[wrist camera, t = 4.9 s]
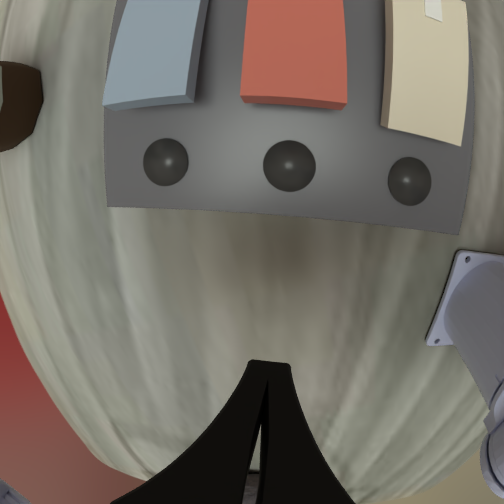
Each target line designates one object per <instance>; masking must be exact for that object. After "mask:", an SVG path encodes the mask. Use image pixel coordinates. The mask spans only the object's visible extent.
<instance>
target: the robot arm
mask: <svg viewBox="0 0 504 504" xmlns="http://www.w3.org/2000/svg"><path fill="white" fill-rule="evenodd" d="M467 256H468V258H467V259H466V260H465V258H466V257H467ZM436 339H437V340H436ZM425 342H426V344H427V345H428V346H440V345H455V347H456V349H457V350H458V352H459V354H460V355H461V357H462V359H463V361H464V362H465V364H466V366H467V368H468V369H469V371H470V373H471V375H472V377H473V378H474V380H475V382H476V384H477V386H478V388H479V390H480V392H481V394H482V396H483V398H484V400H485V402H486V404H487V406H488V408H489V410H490V412H489V413H488V415H487V416H486V418H485V419H484V423H485V425H486V428H487V430H488V433H487V434H486V436H485V437H484V439H483V442H482V445H481V449H480V465H481V470H482V474H483V477H484V479H485V481H486V483H487V485H488V486H489V488H490V489H491V490H492V491H493V492H494V493H495V494H496V495H497V496H499V497H501V498H503V499H504V255H497V254H490V253H482V252H474V251H466V250H460V251H458V252H457V254H456V256H455V259H454V263H453V266H452V269H451V273H450V276H449V279H448V282H447V285H446V288H445V291H444V294H443V297H442V299H441V302H440V305H439V308H438V310H437V313H436V315H435V318H434V320H433V323H432V325H431V328H430V330H429V333H428V335H427V337H426V340H425ZM260 426H261V445H260V472H259V484H258V490H257V497H256V503H255V504H355V503H354V501H353V500H352V499H351V498H350V496H349V495H348V494H347V492H346V491H345V489H344V488H343V487H342V485H341V484H340V482H339V481H338V480H337V478H336V477H335V475H334V474H333V472H332V470H331V469H330V467H329V466H328V464H327V462H326V461H325V459H324V457H323V455H322V453H321V452H320V450H319V448H318V446H317V444H316V442H315V440H314V438H313V435H312V433H311V431H310V429H309V426H308V424H307V422H306V419H305V416H304V414H303V411H302V408H301V406H300V403H299V400H298V397H297V393H296V390H295V386H294V382H293V378H292V373H291V366H290V365H289V364H288V363H280V362H270V361H261V360H253V359H252V360H250V361H248V364H247V367H246V369H245V372H244V374H243V376H242V378H241V380H240V382H239V383H238V385H237V387H236V389H235V390H234V392H233V393H232V395H231V397H230V398H229V400H228V401H227V403H226V404H225V406H224V407H223V408H222V410H221V411H220V412H219V414H218V415H217V416H216V418H215V419H214V420H213V421H212V423H211V424H210V425H209V426H208V427H207V429H206V430H205V431H204V432H203V433H202V434H201V435H200V436H199V438H198V439H197V440H196V441H195V442H194V443H193V444H192V445H191V446H190V447H189V448H188V449H187V450H185V451H184V452H183V453H182V454H181V455H180V456H179V457H178V458H177V459H176V460H174V461H173V462H172V463H171V464H170V465H168V466H167V467H166V468H165V469H163V470H162V471H161V472H159V473H158V474H156V475H155V476H154V477H152V478H151V479H149V480H148V481H147V482H145V483H144V484H142V485H141V486H139V487H137V488H136V489H134V490H132V491H131V492H129V493H127V494H125V495H123V496H121V497H119V498H118V499H116V500H114V501H112V502H111V503H110V504H242V502H243V497H244V491H245V485H246V480H247V476H248V472H249V468H250V464H251V460H252V457H253V453H254V449H255V445H256V441H257V438H258V434H259V430H260ZM0 504H31V503H30V501H29V500H28V499H26V498H25V497H24V496H22V495H21V494H20V493H19V492H17V491H16V490H15V489H14V488H12V487H11V486H10V485H8V484H7V483H6V482H5V481H3V480H1V479H0Z"/></svg>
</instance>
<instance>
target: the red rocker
mask: <svg viewBox="0 0 504 504" xmlns="http://www.w3.org/2000/svg"><path fill="white" fill-rule="evenodd" d="M240 97H241V98H242V100H243V102H244V103H261V104H282V105H296V106H308V107H318V108H326V109H334V110H342V109H343V108H344V107H345V106H346V104H347V56H346V35H345V20H344V8H343V0H248V5H247V16H246V26H245V38H244V49H243V62H242V74H241V87H240Z"/></svg>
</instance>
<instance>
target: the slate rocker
mask: <svg viewBox="0 0 504 504" xmlns="http://www.w3.org/2000/svg"><path fill="white" fill-rule="evenodd" d="M208 2H209V0H128V1H127V4H126V7H125V10H124V13H123V16H122V19H121V23H120V26H119V29H118V33H117V37H116V40H115V44H114V48H113V52H112V56H111V61H110V65H109V70H108V75H107V80H106V85H105V90H104V96H103V102H102V106H104V107H106V108H109V109H111V110H114V111H118V110H124V109H131V108H139V107H147V106H157V105H167V104H180V103H194V97H195V88H196V80H197V72H198V64H199V57H200V50H201V43H202V37H203V30H204V24H205V18H206V13H207V7H208Z"/></svg>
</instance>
